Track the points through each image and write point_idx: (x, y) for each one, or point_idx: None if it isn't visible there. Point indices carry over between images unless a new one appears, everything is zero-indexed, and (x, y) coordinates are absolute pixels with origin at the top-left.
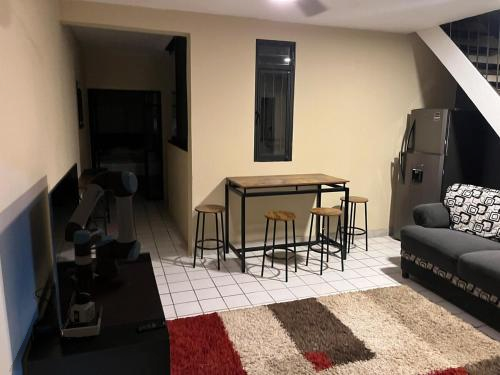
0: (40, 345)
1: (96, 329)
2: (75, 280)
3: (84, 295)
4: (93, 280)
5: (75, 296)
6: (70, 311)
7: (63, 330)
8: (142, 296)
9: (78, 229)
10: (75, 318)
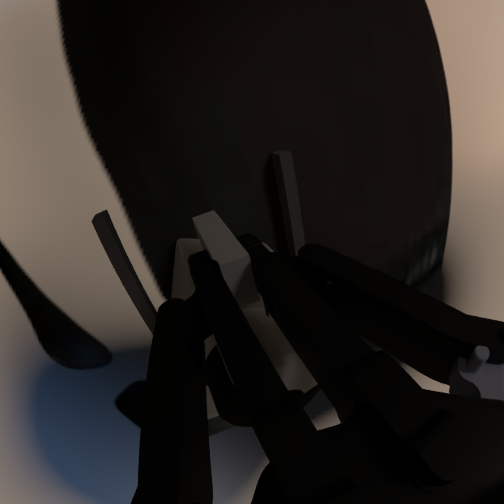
0: None
1: None
2: (183, 477)
3: (300, 403)
4: (432, 373)
5: (229, 421)
6: (110, 248)
7: (213, 416)
8: (414, 48)
9: None
10: None
